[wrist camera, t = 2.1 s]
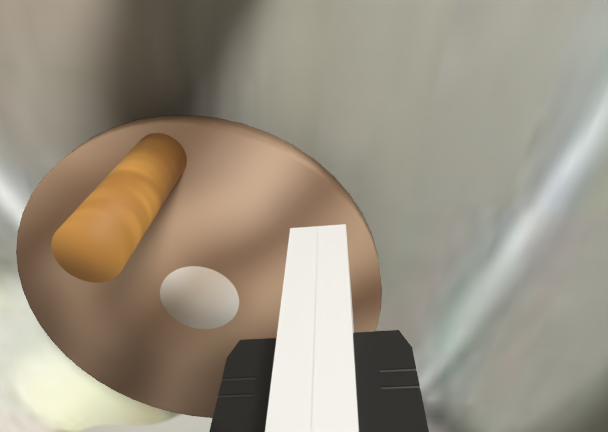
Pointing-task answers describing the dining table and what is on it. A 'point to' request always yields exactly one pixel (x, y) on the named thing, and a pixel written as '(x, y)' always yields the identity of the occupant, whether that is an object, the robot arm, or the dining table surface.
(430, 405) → the dining table surface
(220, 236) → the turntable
